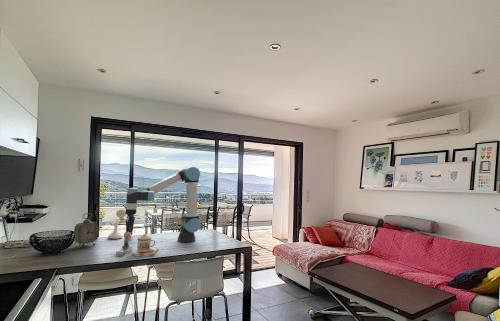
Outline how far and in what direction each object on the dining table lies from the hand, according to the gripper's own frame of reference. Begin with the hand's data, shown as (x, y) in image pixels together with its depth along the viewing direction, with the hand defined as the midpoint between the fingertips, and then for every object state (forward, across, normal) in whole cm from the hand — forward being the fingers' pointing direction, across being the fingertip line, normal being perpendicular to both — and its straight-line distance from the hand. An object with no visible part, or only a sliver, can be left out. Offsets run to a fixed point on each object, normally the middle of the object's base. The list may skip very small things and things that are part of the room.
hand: (128, 240), depth 195 cm
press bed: (+7, +8, +15) cm, 18 cm away
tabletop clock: (+7, -6, -34) cm, 35 cm away
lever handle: (+3, +5, 0) cm, 6 cm away
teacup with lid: (+5, +8, +15) cm, 18 cm away
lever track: (+7, +8, 0) cm, 10 cm away
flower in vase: (+7, -33, -22) cm, 40 cm away
